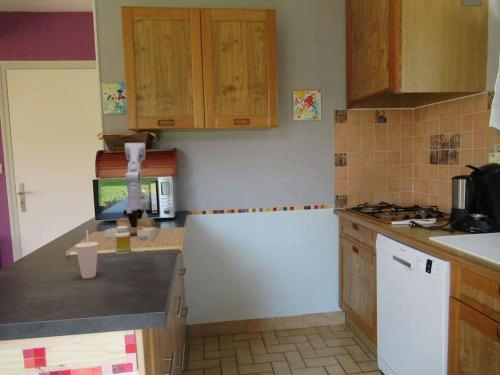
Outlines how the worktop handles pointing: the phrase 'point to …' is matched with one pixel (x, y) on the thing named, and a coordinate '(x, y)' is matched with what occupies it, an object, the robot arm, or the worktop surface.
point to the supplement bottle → (122, 240)
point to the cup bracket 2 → (146, 233)
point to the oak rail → (140, 223)
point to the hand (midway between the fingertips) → (135, 226)
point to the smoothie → (87, 257)
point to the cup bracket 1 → (110, 234)
